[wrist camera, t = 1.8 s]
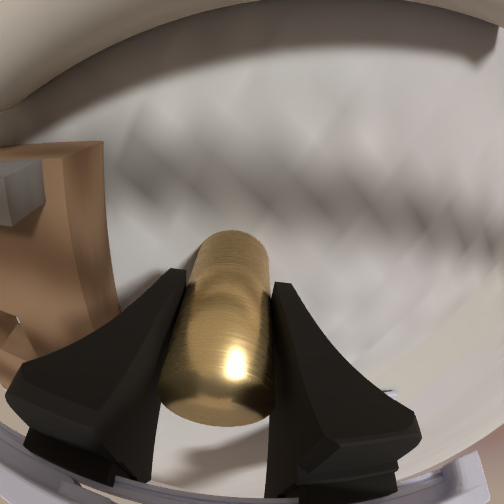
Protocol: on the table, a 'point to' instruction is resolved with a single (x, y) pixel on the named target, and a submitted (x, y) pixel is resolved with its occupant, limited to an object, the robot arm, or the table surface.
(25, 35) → the tube
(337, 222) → the table surface
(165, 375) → the brass cylinder
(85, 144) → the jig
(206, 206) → the table surface
